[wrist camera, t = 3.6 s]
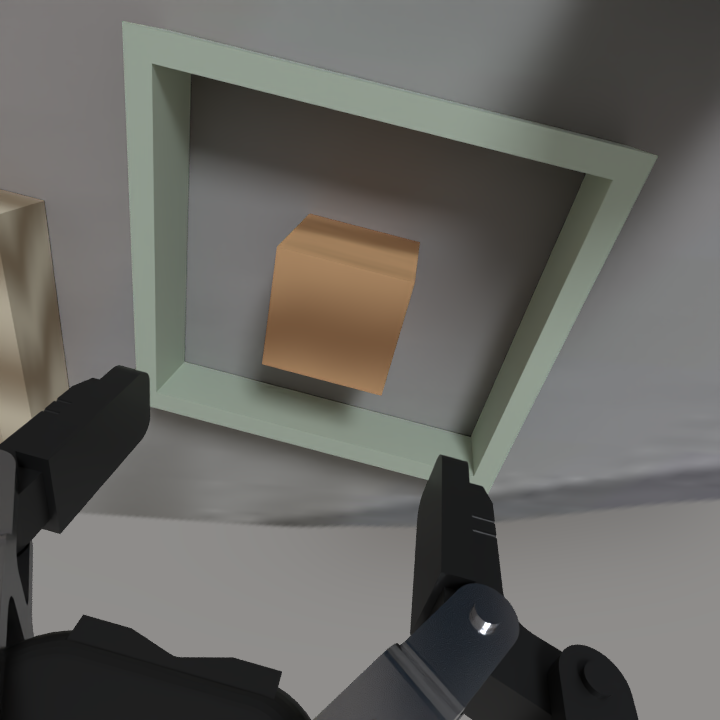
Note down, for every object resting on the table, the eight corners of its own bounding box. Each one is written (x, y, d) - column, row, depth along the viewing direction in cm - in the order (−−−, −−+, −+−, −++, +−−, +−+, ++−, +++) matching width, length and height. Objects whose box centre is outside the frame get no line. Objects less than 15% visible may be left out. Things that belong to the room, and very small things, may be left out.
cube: (309, 213, 21) (276, 247, 17) (419, 241, 21) (414, 282, 17) (294, 313, 24) (262, 364, 19) (391, 338, 24) (381, 395, 19)
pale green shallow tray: (166, 29, 18) (122, 21, 16) (627, 145, 18) (658, 156, 15) (166, 372, 27) (137, 403, 24) (482, 455, 26) (487, 495, 24)
